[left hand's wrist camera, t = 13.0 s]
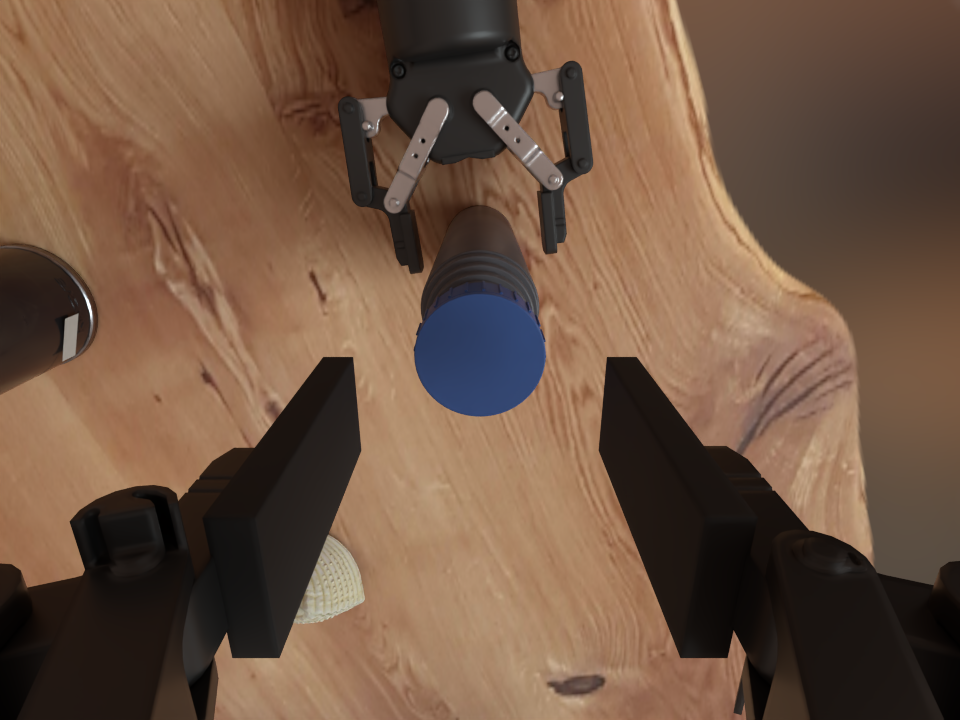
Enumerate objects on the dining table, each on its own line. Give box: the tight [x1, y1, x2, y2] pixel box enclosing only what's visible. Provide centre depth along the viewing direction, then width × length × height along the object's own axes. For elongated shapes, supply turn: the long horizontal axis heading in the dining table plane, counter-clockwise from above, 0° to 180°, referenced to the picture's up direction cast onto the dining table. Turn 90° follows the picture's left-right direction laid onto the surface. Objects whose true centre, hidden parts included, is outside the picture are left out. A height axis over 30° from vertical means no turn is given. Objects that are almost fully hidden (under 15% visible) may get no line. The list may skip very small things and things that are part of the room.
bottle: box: [421, 206, 539, 320], centre depth 29 cm, size 5×5×24 cm
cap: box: [414, 281, 546, 416], centre depth 18 cm, size 4×4×2 cm
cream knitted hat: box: [293, 535, 365, 624], centre depth 49 cm, size 8×8×8 cm
